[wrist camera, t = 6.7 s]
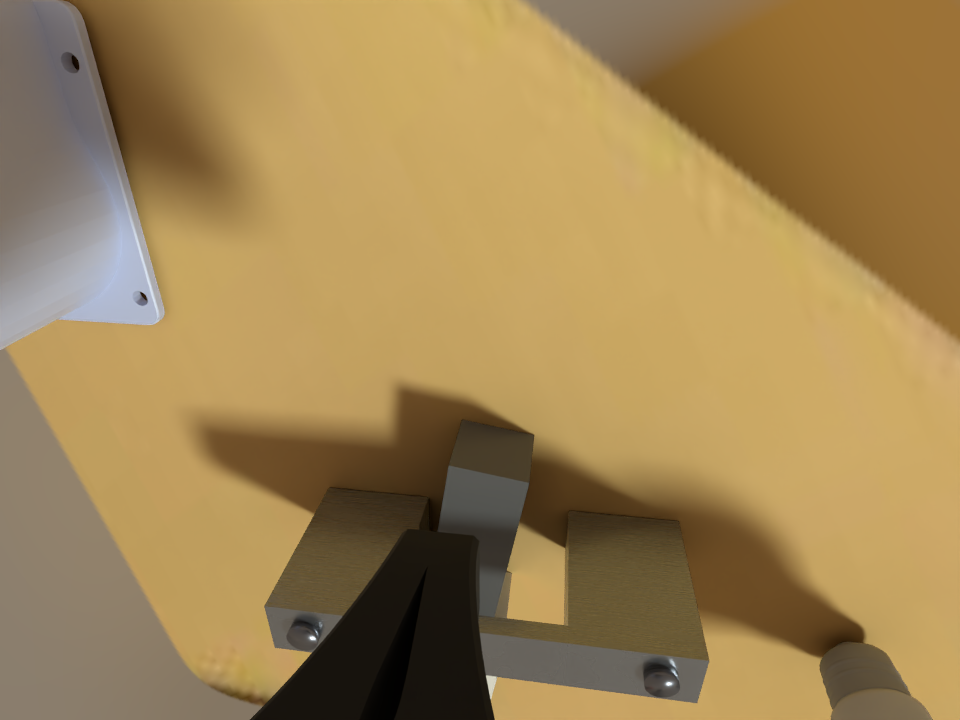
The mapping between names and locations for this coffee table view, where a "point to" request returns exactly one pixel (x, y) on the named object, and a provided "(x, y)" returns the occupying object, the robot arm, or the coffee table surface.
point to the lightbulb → (867, 685)
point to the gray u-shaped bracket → (508, 642)
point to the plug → (488, 504)
